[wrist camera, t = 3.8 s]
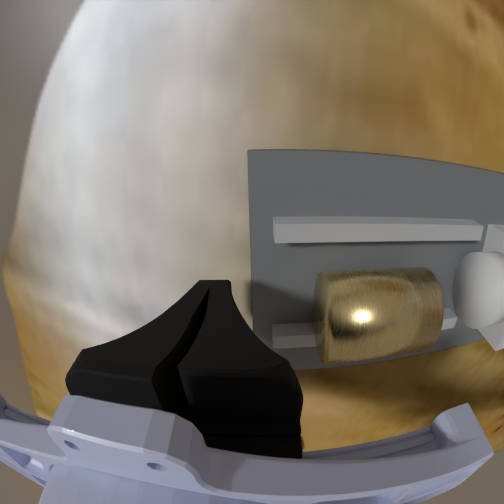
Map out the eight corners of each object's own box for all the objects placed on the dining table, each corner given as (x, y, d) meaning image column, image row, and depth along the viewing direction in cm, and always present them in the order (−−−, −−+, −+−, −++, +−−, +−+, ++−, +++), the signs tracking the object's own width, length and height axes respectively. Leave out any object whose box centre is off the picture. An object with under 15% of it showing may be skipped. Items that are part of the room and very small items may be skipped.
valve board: (523, 178, 12) (587, 205, 6) (482, 330, 17) (520, 379, 11) (247, 149, 12) (243, 164, 7) (254, 360, 17) (254, 444, 11)
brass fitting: (420, 249, 12) (454, 317, 9) (395, 302, 15) (416, 364, 12) (321, 251, 12) (340, 332, 9) (310, 308, 15) (320, 378, 12)
